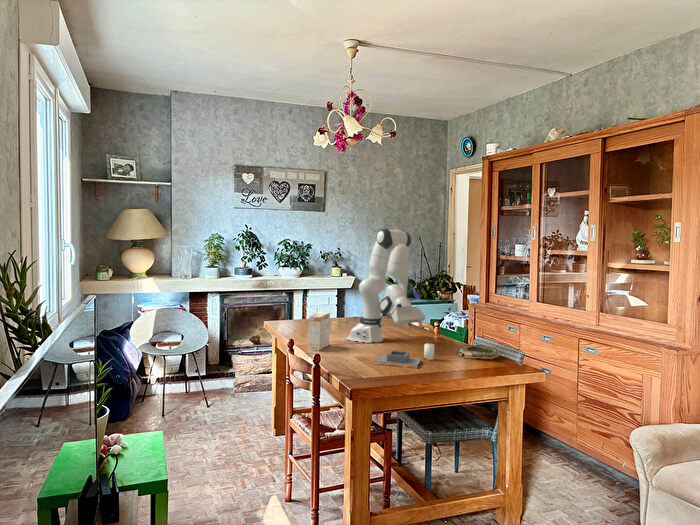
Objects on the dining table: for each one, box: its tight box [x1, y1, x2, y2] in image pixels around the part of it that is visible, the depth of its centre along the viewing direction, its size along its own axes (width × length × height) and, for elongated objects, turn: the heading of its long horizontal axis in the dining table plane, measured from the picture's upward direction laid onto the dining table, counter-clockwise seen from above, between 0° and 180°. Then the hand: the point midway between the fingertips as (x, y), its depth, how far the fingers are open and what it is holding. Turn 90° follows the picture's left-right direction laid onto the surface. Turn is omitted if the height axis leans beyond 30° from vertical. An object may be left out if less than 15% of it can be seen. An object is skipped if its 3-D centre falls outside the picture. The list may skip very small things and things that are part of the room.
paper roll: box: [423, 343, 435, 359], centre depth 274 cm, size 5×5×8 cm
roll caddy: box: [373, 350, 422, 366], centre depth 266 cm, size 22×14×5 cm, turn 73°
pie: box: [457, 344, 501, 358], centre depth 284 cm, size 28×27×5 cm
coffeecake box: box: [308, 311, 331, 351], centre depth 294 cm, size 15×7×20 cm, turn 160°
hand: (415, 328), depth 283 cm, fingers open, 8 cm apart
